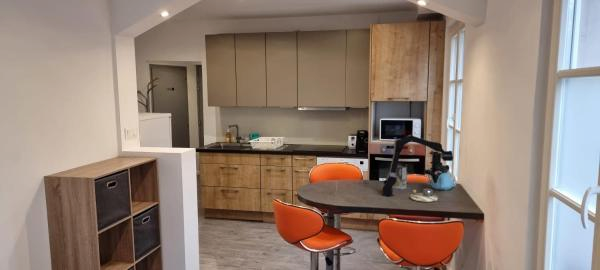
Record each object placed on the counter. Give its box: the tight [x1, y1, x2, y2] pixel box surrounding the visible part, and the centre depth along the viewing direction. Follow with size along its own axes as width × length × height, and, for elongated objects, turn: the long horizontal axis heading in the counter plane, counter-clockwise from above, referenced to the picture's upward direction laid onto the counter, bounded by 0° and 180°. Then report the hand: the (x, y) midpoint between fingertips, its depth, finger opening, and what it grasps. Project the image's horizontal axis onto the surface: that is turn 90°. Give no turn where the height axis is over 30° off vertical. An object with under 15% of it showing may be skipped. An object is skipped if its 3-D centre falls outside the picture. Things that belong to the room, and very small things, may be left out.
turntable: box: [409, 189, 439, 203], centre depth 266 cm, size 18×18×4 cm
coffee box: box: [392, 165, 408, 190], centre depth 297 cm, size 9×6×16 cm
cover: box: [422, 188, 434, 197], centre depth 268 cm, size 6×6×4 cm
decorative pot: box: [427, 171, 457, 191], centre depth 295 cm, size 16×16×14 cm
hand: (435, 183), depth 272 cm, fingers closed
